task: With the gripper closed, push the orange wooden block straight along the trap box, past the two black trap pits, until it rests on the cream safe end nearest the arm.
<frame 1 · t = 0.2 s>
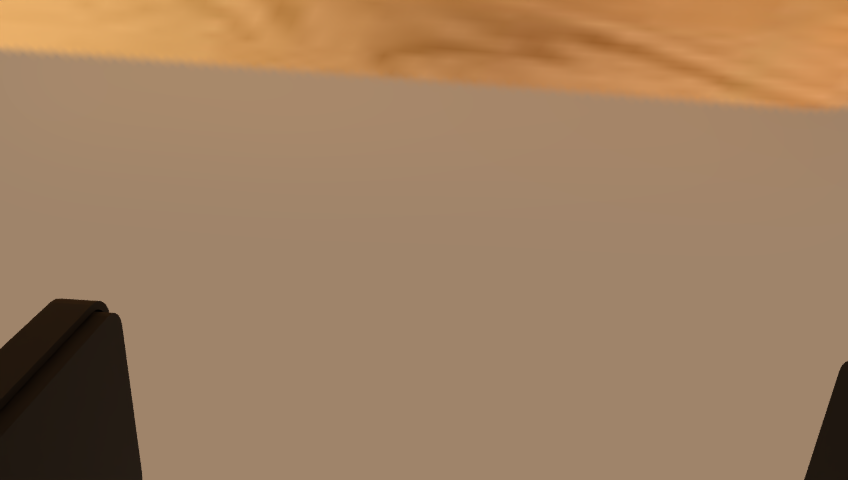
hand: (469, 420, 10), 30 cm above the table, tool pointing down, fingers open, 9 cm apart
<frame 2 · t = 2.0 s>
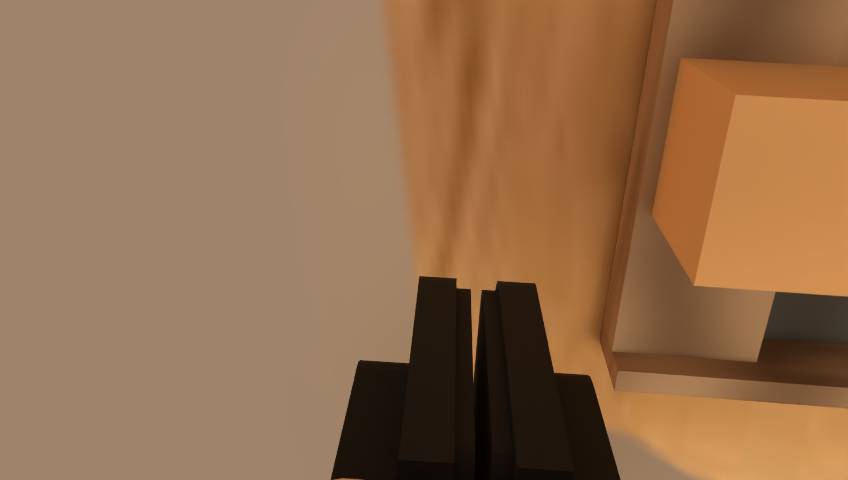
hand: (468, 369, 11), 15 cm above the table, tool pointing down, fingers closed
orange block: (747, 144, 23), point 2 cm above the table, touching trap box
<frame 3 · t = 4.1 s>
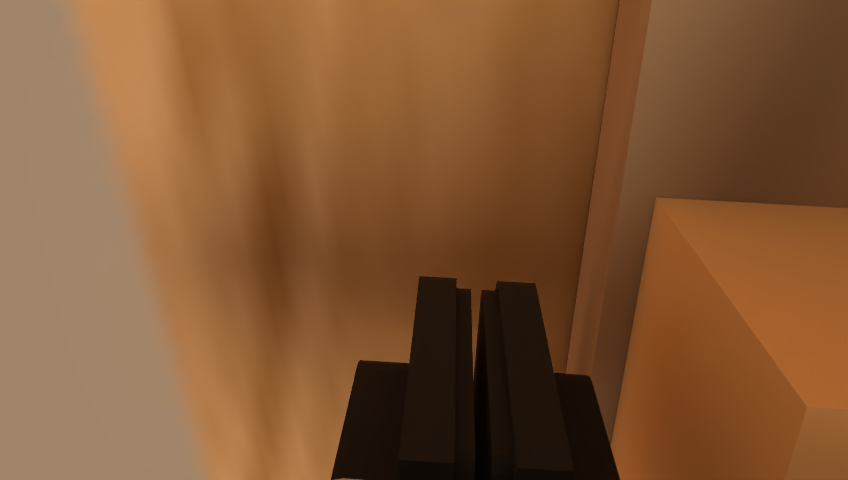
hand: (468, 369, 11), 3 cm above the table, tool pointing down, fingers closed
orange block: (788, 355, 12), point 2 cm above the table, touching gripper
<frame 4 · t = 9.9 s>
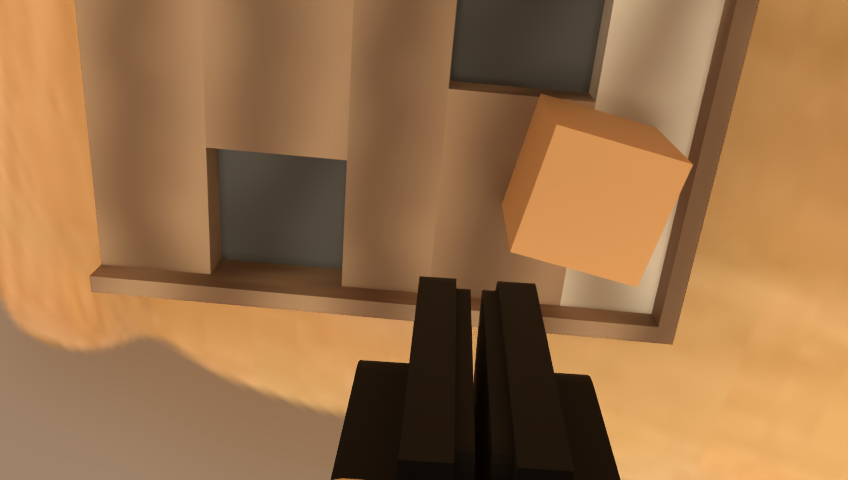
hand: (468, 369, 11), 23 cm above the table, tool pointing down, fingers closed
trap box: (399, 113, 32), on the table
orange block: (577, 167, 31), point 2 cm above the table, touching trap box
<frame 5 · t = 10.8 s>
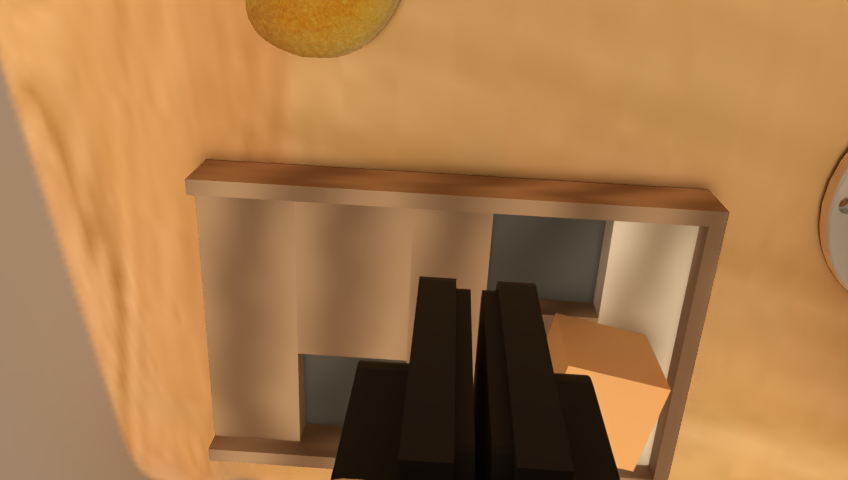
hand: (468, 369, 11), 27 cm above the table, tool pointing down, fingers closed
trap box: (445, 317, 41), on the table
orange block: (585, 362, 40), point 2 cm above the table, touching trap box
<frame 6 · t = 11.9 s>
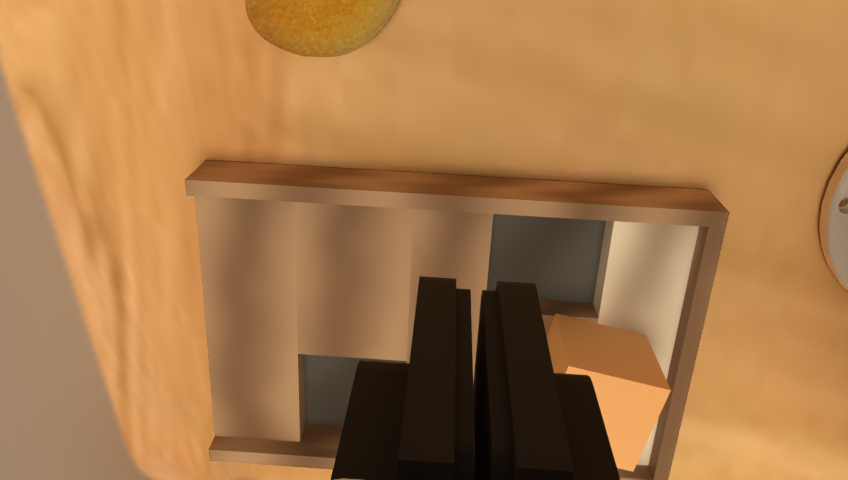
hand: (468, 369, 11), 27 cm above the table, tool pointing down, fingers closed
trap box: (445, 318, 41), on the table
orange block: (585, 363, 40), point 2 cm above the table, touching trap box
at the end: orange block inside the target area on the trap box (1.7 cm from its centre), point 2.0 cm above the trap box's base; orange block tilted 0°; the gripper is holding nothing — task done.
